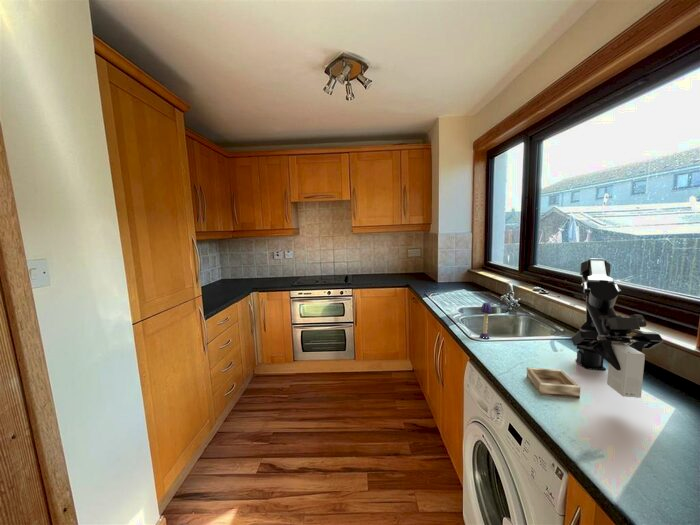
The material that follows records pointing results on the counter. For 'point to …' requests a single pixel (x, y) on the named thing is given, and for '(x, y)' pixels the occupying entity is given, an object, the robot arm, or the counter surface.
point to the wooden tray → (553, 383)
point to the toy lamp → (485, 318)
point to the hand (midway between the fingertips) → (629, 370)
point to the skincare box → (627, 371)
